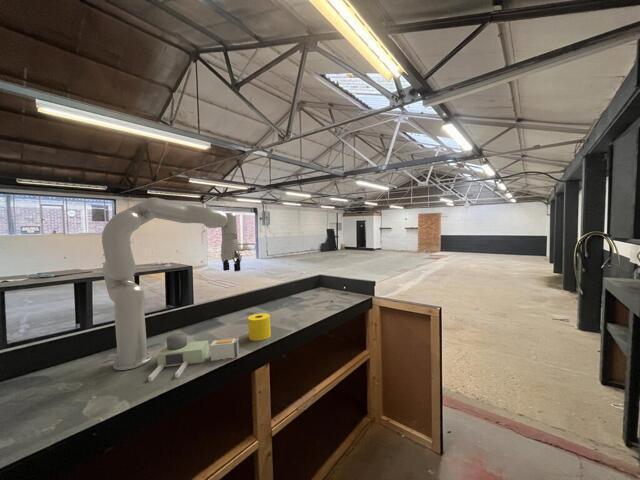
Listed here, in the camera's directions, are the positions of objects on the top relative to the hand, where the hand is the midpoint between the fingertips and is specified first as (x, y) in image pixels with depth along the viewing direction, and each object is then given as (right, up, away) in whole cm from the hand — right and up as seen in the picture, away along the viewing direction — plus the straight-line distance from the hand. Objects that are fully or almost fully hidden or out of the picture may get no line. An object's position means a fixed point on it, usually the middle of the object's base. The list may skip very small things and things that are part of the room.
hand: (231, 270), depth 137 cm
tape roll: (+17, -30, -11) cm, 36 cm away
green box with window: (-8, -32, -36) cm, 48 cm away
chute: (+8, -31, -30) cm, 44 cm away
